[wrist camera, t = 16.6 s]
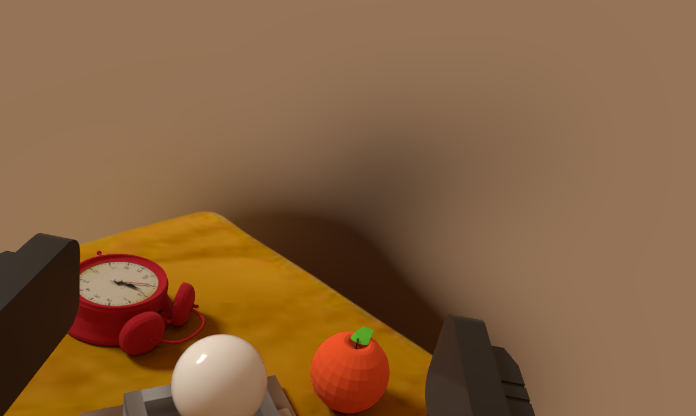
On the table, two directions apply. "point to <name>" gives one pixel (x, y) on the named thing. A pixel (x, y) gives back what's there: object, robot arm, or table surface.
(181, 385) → the lightbulb
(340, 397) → the clementine
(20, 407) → the table surface
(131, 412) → the socket stand
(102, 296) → the alarm clock
